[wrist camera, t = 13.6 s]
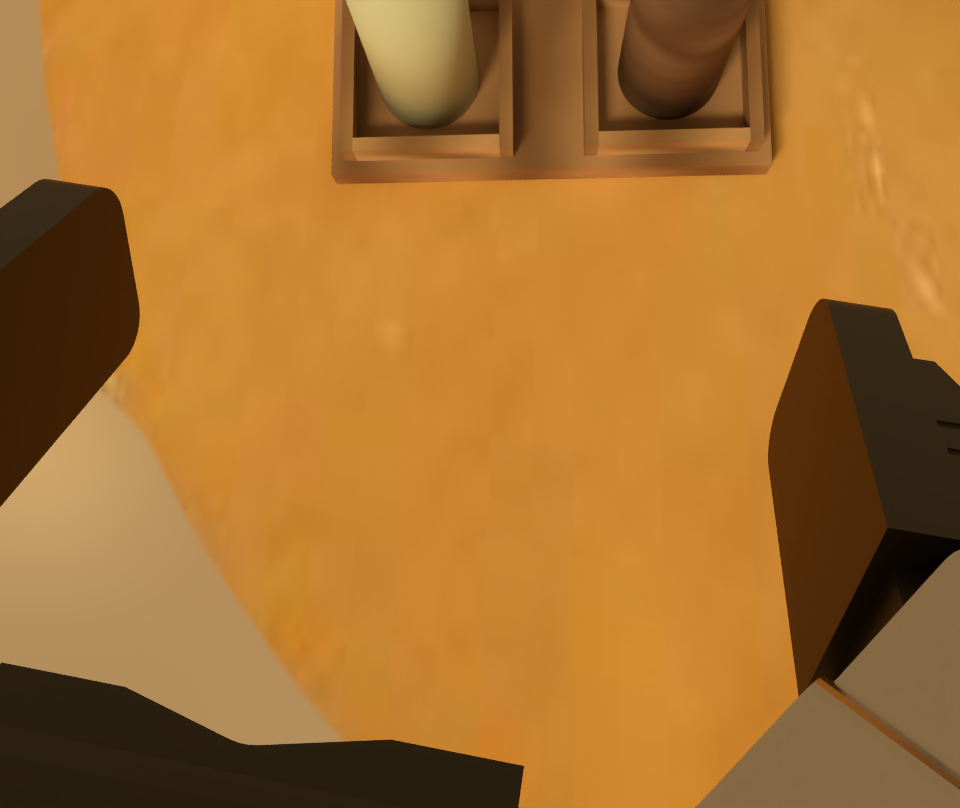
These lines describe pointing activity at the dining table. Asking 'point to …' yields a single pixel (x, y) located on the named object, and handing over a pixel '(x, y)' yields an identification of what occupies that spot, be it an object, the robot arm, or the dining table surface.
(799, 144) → the dining table surface
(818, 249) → the dining table surface
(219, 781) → the robot arm
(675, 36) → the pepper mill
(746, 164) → the cruet stand
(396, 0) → the salt mill
